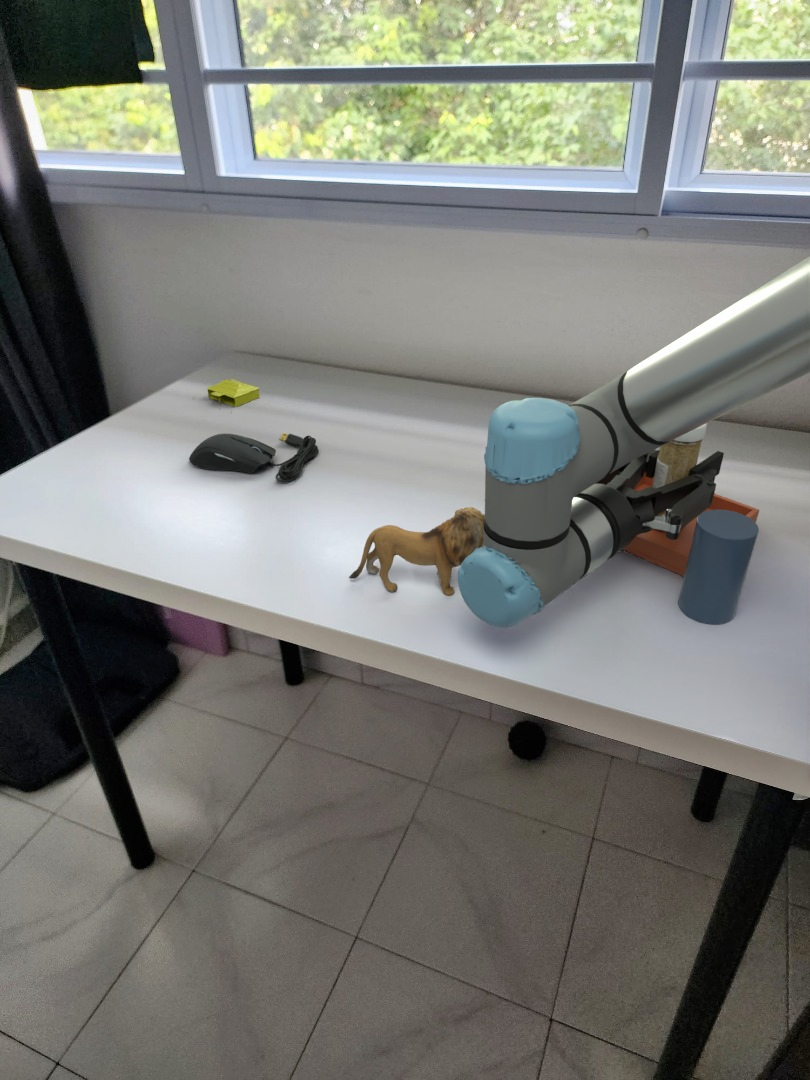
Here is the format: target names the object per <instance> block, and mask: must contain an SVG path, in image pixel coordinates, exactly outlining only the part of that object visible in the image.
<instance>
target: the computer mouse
mask: <svg viewBox="0 0 810 1080" xmlns="http://www.w3.org/2000/svg"><path fill="white" fill-rule="evenodd" d="M278 440H279V441H281V442H284V443H285V444H286V445H289V446H292V447H294V448H297V451H296V454H293V456H292V457H291V458H289V459H287V460H285V461H284V462H281V463H274V462H273V461H271V460H272V459H274V457H275V456H276V452H277V449H276V448H274V447H272V446H270V445H268V444H266V443H263V442H261V441H259V440H256V439H254V438H251V437H247V436H243V435H240V434H234V433H217V434H214V435H211V436H209V437H207V438H206V439H204V440H203V441H201V442H200V443H199V444H198V445H197V446H196V447H195V448H194V449H193V451H192V452H191V454H190V455H189V457H188V460H189V462H190V463H191V464H192V465H193V466H194V467H196V468H200V469H204V470H212V471H236V472H243V473H249V474H252V473H254V472H257V471H258V470H260V469H262V468H263V467H271V468H274V467H279V468H278V472H277V473H276V474H275V480H276V481H278V482H280V483H288V482H291V481H293V480H294V479H295V478H297V477H299V476H300V474H301V473H302V471H303V468H304V465H306V464H307V461H309V460H311V459H313V458H314V457H316V456H317V455H318V454H319V446H318V445H317V444H316V443H317V440H316V438H315V437H312V436H311V435H310V434H309V435H306V436H304V437H301V436H299V435H295V434H293V433H286V432H281V435H280V437H279V439H278Z"/></svg>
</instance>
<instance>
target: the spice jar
mask: <svg viewBox="0 0 810 1080" xmlns="http://www.w3.org/2000/svg"><path fill="white" fill-rule="evenodd" d="M707 426H708V423H706V424H704V425H702V426H700V427H698V428H696V429H694V430H692V431H690V432H688V433H686V434H684V435H682V436H680V437H677V438H675V439H673V440H671V441H669V442H668V443H667V444H665V445H663V446H661V447H659V449H660V450H659V449H658V450H659V455H658V457H657V463H656V468H655V474H654V479H653V485H652V487H654V488H658V487H661V486H664V485H666V484H669V483H672V482H674V481H677V480H680V479H682V478H685V477H688V476H689V471H690V469H691V468H693V467H694V466H696V465H697V464H698V459H699V455H700V449H701V445H702V443H703V440H704V438H705V435H706V431H707ZM671 509H672V508H671ZM665 513H666V511H664V512H661V513H659V514H658V515H657V516H662V515H663V514H665ZM661 531H663V530H661Z"/></svg>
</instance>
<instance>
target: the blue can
mask: <svg viewBox="0 0 810 1080" xmlns="http://www.w3.org/2000/svg"><path fill="white" fill-rule="evenodd" d="M759 530H760V528H759V526H758V523H757V522H756V523H755V522H754V521H753V520H752V519H751V518H749V517H747V516H745V515H743V514H740V513H737V512H734V511H729V510H709V511H705V512H703V513H701V514H700V515H699V516H698V517H697V521H696V525H695V530H694V534H693V538H692V543H691V547H690V552H689V556H688V561H687V565H686V570H685V574H684V576H683V579H682V583H681V588H680V592H679V595H678V596H679V597H678V601H677V603H678V608H679V609H680V611H681V612H682V613H683V614H684V615H685V616H687V617H688V618H690V619H692V620H694V621H696V622H699V623H701V624H707V625H722V624H726V623H730V622H731V621H732V620H734V618H735V617H736V613H737V610H738V606H739V603H740V599H741V595H742V593H743V588H744V585H745V580H746V579H747V578H746V577H747V575H748V571H749V566H750V564H751V559H752V556H753V552H754V549H755V545H756V542H757V539H758V536H759V535H758V534H759Z"/></svg>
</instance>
